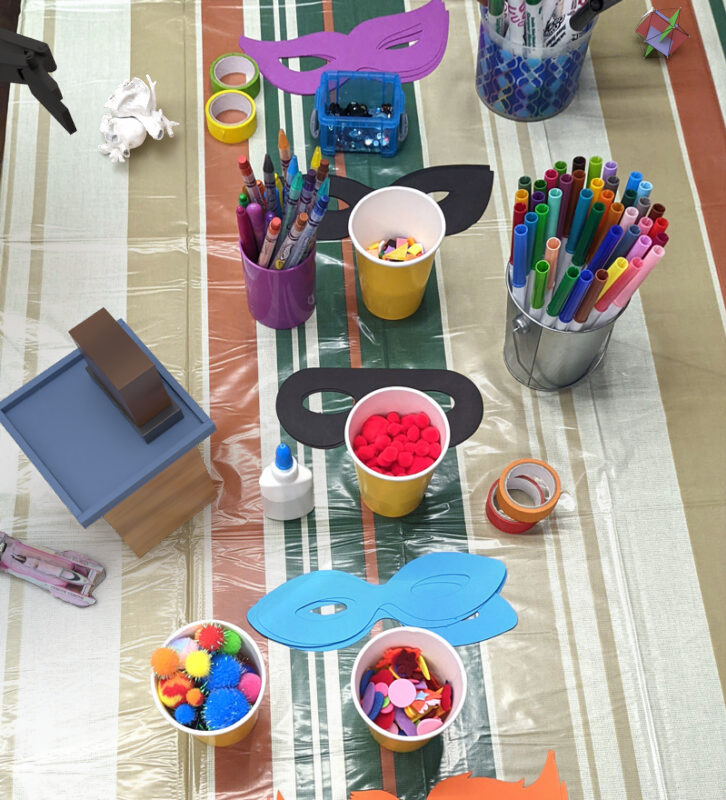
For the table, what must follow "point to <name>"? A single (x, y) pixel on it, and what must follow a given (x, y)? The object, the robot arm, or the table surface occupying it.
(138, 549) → the wooden block
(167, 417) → the brown angled block
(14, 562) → the pink toy racer
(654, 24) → the geometric puzzle
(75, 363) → the tray
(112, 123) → the heart
